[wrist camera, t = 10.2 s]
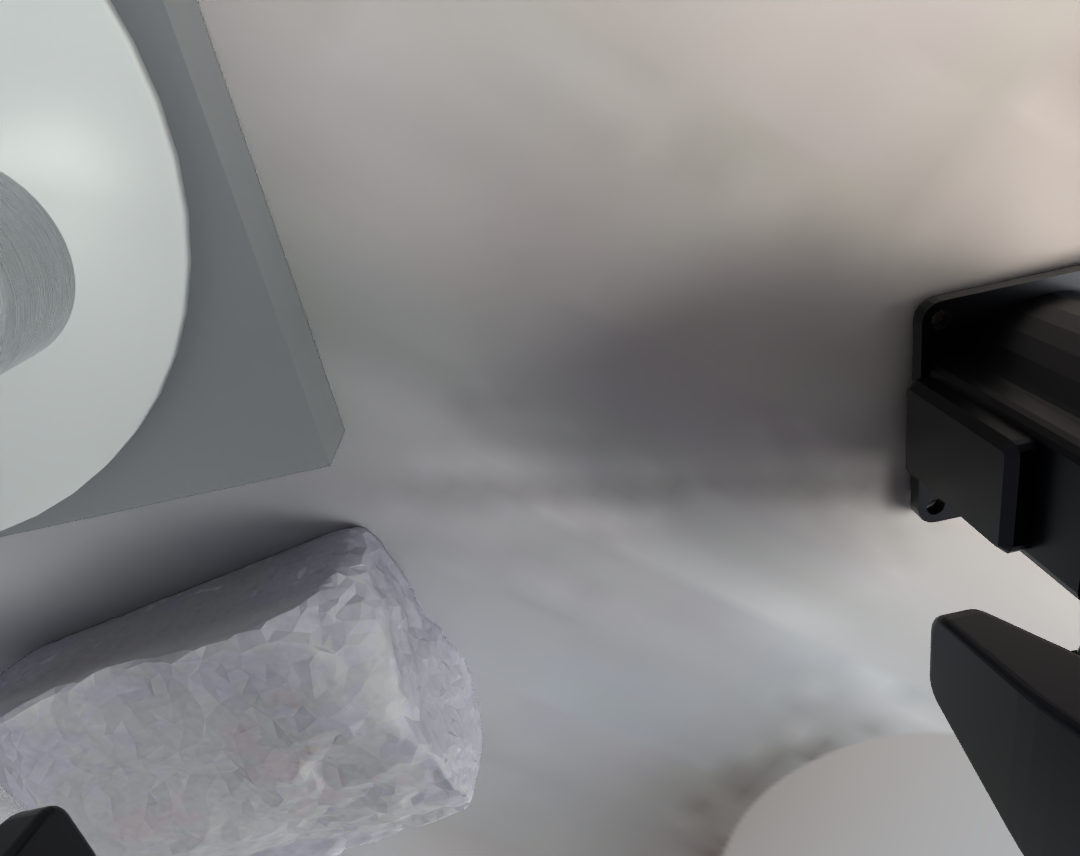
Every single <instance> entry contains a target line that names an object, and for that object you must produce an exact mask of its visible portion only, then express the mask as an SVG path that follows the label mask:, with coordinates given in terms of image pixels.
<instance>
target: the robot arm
mask: <svg viewBox="0 0 1080 856" xmlns="http://www.w3.org/2000/svg"><path fill="white" fill-rule="evenodd" d="M941 310H942V313H943V314H942V317H941V319H940V321H939V322H938V323H936V324H934V325H932V323H931V322H932V318H933V316H934V315H935V314H936V313H937V312H939V311H941ZM906 468H907V470H908V472H910V473H911V507H912V510H913V511H914V512H915V513H916V514H917V515H918V516H919V517H920V518H921V519H922V520H924V521H927V522H937V521H942V520H947V519H951V518H956V517H962V518H963V519H964V520H966V521H967V522H968V523H969V524H970V525H971V526H973V527H974V528H975V529H976V530H977V531H978V532H980V533H981V534H982V535H983V536H984V537H985V538H987V539H988V540H989V541H990V542H991V543H992V544H994V545H995V546H996V547H998V548H999V549H1001V550H1002V551H1004V552H1006V553H1011V552H1016V551H1021V552H1022V553H1023V554H1024V555H1026V556H1027V557H1028V558H1029V559H1031V560H1032V561H1033V562H1034V563H1035V564H1037V565H1038V566H1039V567H1040V568H1041V569H1043V570H1044V571H1045V572H1046V573H1047V574H1049V575H1050V576H1051V577H1052V578H1054V579H1055V580H1056V581H1057V582H1058V583H1060V584H1061V585H1062V586H1063V587H1064V588H1066V589H1067V590H1068V591H1069V592H1070V593H1072V594H1073V595H1074V596H1075V597H1076V598H1078V599H1079V600H1080V265H1077V266H1073V267H1068V268H1063V269H1059V270H1054V271H1050V272H1045V273H1040V274H1036V275H1031V276H1026V277H1022V278H1017V279H1013V280H1008V281H1003V282H999V283H994V284H989V285H985V286H980V287H976V288H971V289H966V290H962V291H957V292H952V293H948V294H943V295H939V296H934V297H931V298H929V299H926V300H925V301H924V302H922V303H921V304H920V305H919V306H918V308H917V310H916V311H915V314H914V318H913V370H912V382H911V384H910V386H909V388H908V389H907V430H906ZM935 499H936V502H935V503H934V504H933V505H932V506H930V507H928V508H927V506H928V504H929V503H930V502H931V501H933V500H935ZM930 681H931V687H932V690H933V693H934V696H935V698H936V700H937V702H938V704H939V706H940V708H941V710H942V712H943V713H944V715H945V717H946V719H947V721H948V722H949V724H950V726H951V728H952V730H953V731H954V733H955V735H956V737H957V739H958V740H959V742H960V743H961V745H962V748H963V749H964V751H965V753H966V755H967V756H968V758H969V760H970V762H971V763H972V765H973V767H974V769H975V771H976V772H977V775H978V776H979V778H980V780H981V782H982V783H983V785H984V787H985V789H986V791H987V792H988V794H989V796H990V798H991V800H992V801H993V803H994V805H995V807H996V809H997V810H998V812H999V814H1000V816H1001V818H1002V819H1003V821H1004V823H1005V825H1006V827H1007V828H1008V830H1009V831H1010V833H1011V835H1012V837H1013V838H1014V840H1015V842H1016V844H1017V845H1018V847H1019V849H1020V850H1021V852H1022V853H1023V855H1024V856H1080V647H1079V649H1078V650H1074V651H1072V652H1071V651H1069V650H1067V649H1065V648H1063V647H1060V646H1058V645H1056V644H1054V643H1052V642H1049V641H1047V640H1045V639H1043V638H1041V637H1038V636H1036V635H1034V634H1032V633H1030V632H1028V631H1025V630H1023V629H1021V628H1019V627H1017V626H1014V625H1012V624H1010V623H1008V622H1006V621H1003V620H1001V619H999V618H997V617H995V616H992V615H990V614H988V613H986V612H983V611H980V610H976V609H969V610H964V611H960V612H955V613H950V614H945V615H941V616H939V617H937V618H936V619H935V620H934V622H933V624H932V629H931V656H930ZM0 856H96V854H95V852H94V851H93V849H92V848H91V846H90V845H89V843H88V842H87V840H86V839H85V837H84V836H83V834H82V833H81V832H80V830H79V829H78V827H77V826H76V824H75V823H74V821H73V820H72V818H71V817H70V816H69V814H68V813H67V812H66V811H65V810H64V809H63V808H61V807H59V806H46V807H42V808H37V809H32V810H28V811H23V812H20V813H17V814H15V815H13V816H11V817H9V818H8V819H7V820H6V821H4V822H3V823H2V824H1V825H0Z"/></svg>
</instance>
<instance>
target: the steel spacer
mask: <svg viewBox="0 0 1080 856" xmlns="http://www.w3.org/2000/svg"><path fill="white" fill-rule="evenodd" d="M74 299H75V274H74V267H73V263H72V259H71V256H70V253H69V250H68V248H67V245H66V243H65V240H64V238H63V236H62V235H61V233H60V231H59V229H58V227H57V226H56V224H55V223H54V221H53V220H52V218H51V217H50V215H49V214H48V213H47V211H46V210H45V209H44V208H43V207H42V206H41V204H40V203H39V202H38V201H37V200H36V199H35V198H34V197H33V196H32V195H31V194H30V193H29V192H28V191H27V190H26V189H25V188H23V187H22V186H21V185H20V184H18V183H17V182H16V181H14V180H13V179H12V178H10V177H9V176H7V175H6V174H4V173H3V172H1V171H0V375H2V374H3V373H5V372H7V371H8V370H10V369H12V368H14V367H15V366H17V365H19V364H20V363H22V362H24V361H26V360H27V359H29V358H31V357H32V356H34V355H36V354H38V353H39V352H41V351H42V350H44V349H45V348H47V347H48V346H49V345H50V344H51V343H52V342H53V341H55V340H56V338H57V337H58V336H59V335H60V333H61V332H62V331H63V329H64V328H65V326H66V324H67V322H68V320H69V318H70V315H71V312H72V309H73V305H74Z"/></svg>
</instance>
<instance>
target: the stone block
mask: <svg viewBox="0 0 1080 856" xmlns="http://www.w3.org/2000/svg"><path fill="white" fill-rule="evenodd" d="M471 679H472V677H471V673H470V671H469V669H468V668H467V664H466V661H465V659H464V657H463V656H461V655H460V654H459V653H458V652H457V650H456V649H455V648H454V647H453V646H452V645H451V644H450V643H449V641H448V640H447V639H446V637H445V636H444V635H443V634H442V629H441V628H440V627H438V626H437V625H436V624H434V623H433V622H432V621H430V620H429V619H428V618H426V617H425V615H424V613H423V611H422V610H421V608H420V606H419V604H418V603H417V601H416V598H415V595H414V591H413V590H412V589H411V588H410V585H409V582H408V580H407V579H406V577H405V576H404V574H403V573H402V571H401V570H400V568H399V567H398V565H397V564H396V563H395V561H394V560H393V559H392V558H391V556H390V555H389V554H388V553H387V551H386V550H385V548H384V546H383V543H382V542H381V541H380V540H379V539H378V538H377V537H376V536H375V535H374V534H373V533H372V532H370V531H369V530H368V529H367V528H363V527H353V528H348V529H342V530H337V531H334V532H332V533H328V534H325V535H323V536H320V537H317V538H315V539H312V540H310V541H308V542H305V543H303V544H300V545H298V546H295V547H292V548H290V549H288V550H285V551H283V552H280V553H277V554H275V555H273V556H270V557H268V558H266V559H263V560H261V561H258V562H256V563H253V564H250V565H248V566H245V567H243V568H240V569H238V570H235V571H232V572H230V573H228V574H225V575H223V576H220V577H218V578H215V579H213V580H210V581H208V582H205V583H202V584H200V585H197V586H195V587H193V588H190V589H188V590H185V591H183V592H180V593H178V594H176V595H173V596H169V597H166V598H164V599H161V600H158V601H156V602H154V603H151V604H149V605H147V606H144V607H142V608H139V609H137V610H135V611H133V612H130V613H128V614H126V615H124V616H121V617H117V618H113V619H110V620H108V621H106V622H103V623H101V624H98V625H96V626H93V627H91V628H88V629H85V630H83V631H80V632H78V633H75V634H72V635H68V636H66V637H64V638H63V639H61V640H59V641H56V642H53V643H50V644H47V645H45V646H42V647H40V648H38V649H36V650H35V651H33V652H31V653H29V654H28V655H27V656H25V657H24V658H22V659H21V660H20V661H18V662H17V663H15V664H14V665H13V666H11V667H10V668H8V669H7V670H6V671H4V672H3V673H2V674H1V676H0V784H1V785H2V787H3V788H4V789H5V790H6V792H7V793H9V794H10V795H11V796H12V797H13V798H14V799H16V800H17V801H18V802H19V803H20V804H21V805H22V806H23V808H24V809H25V810H26V811H28V810H32V809H37V808H42V807H46V806H59V807H61V808H63V809H64V810H65V811H66V812H67V813H68V814H69V816H70V817H71V818H72V820H73V821H74V823H75V824H76V826H77V827H78V829H79V830H80V832H81V833H82V834H83V836H84V837H85V839H86V840H87V842H88V843H89V845H90V846H91V848H92V849H93V851H94V852H95V854H96V856H338V855H339V854H341V853H342V851H343V850H344V849H345V848H350V847H357V846H359V845H362V844H369V843H374V842H376V841H378V840H380V839H383V838H385V837H388V836H390V835H393V834H395V833H398V832H399V831H400V830H402V829H403V828H407V827H419V826H423V825H426V824H429V823H432V822H435V821H437V820H440V819H443V818H445V817H448V816H450V815H452V814H454V813H456V812H458V811H462V810H464V809H465V808H466V807H467V806H470V801H471V799H472V797H473V793H474V788H475V780H476V777H477V774H478V771H479V767H480V765H479V761H480V755H481V751H482V726H481V721H480V719H481V712H480V708H479V702H478V700H477V698H476V696H475V693H474V689H473V686H472V681H471Z"/></svg>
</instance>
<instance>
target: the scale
mask: <svg viewBox="0 0 1080 856" xmlns="http://www.w3.org/2000/svg"><path fill="white" fill-rule="evenodd" d="M0 171H1V172H3V173H4V174H6V175H7V176H9V177H10V178H12V179H13V180H14V181H16V182H17V183H18V184H20V185H21V186H22V187H23V188H25V189H26V190H27V191H28V192H29V193H30V194H31V195H32V196H33V197H34V198H35V199H36V200H37V201H38V202H39V203H40V204H41V206H42V207H43V208H44V209H45V210H46V211H47V213H48V214H49V215H50V217H51V218H52V220H53V221H54V223H55V224H56V226H57V227H58V229H59V231H60V233H61V235H62V236H63V238H64V240H65V243H66V245H67V248H68V250H69V253H70V256H71V259H72V263H73V267H74V274H75V299H74V305H73V309H72V312H71V315H70V318H69V320H68V322H67V324H66V326H65V328H64V329H63V331H62V332H61V333H60V335H59V336H58V337H57V338H56V340H55V341H53V342H52V343H51V344H50V345H49V346H48V347H47V348H45V349H44V350H42V351H41V352H39V353H38V354H36V355H34V356H32V357H31V358H29V359H27V360H26V361H24V362H22V363H20V364H19V365H17V366H15V367H14V368H12V369H10V370H8V371H7V372H5V373H3V374H2V375H0V537H3V536H7V535H12V534H17V533H21V532H26V531H30V530H35V529H40V528H44V527H49V526H54V525H58V524H63V523H67V522H72V521H77V520H81V519H86V518H91V517H95V516H100V515H105V514H109V513H114V512H118V511H123V510H128V509H132V508H137V507H142V506H146V505H151V504H155V503H160V502H165V501H169V500H174V499H179V498H183V497H188V496H193V495H197V494H202V493H206V492H211V491H216V490H220V489H225V488H230V487H234V486H239V485H243V484H248V483H253V482H257V481H262V480H267V479H271V478H276V477H281V476H285V475H290V474H294V473H299V472H304V471H308V470H313V469H318V468H322V467H327V466H331V464H332V461H333V458H334V456H335V453H336V451H337V448H338V446H339V443H340V441H341V438H342V436H343V433H344V431H345V430H344V427H343V424H342V421H341V418H340V415H339V413H338V410H337V407H336V404H335V401H334V398H333V395H332V392H331V389H330V386H329V383H328V381H327V378H326V375H325V372H324V369H323V366H322V363H321V360H320V357H319V354H318V351H317V349H316V346H315V343H314V340H313V337H312V334H311V331H310V328H309V325H308V322H307V319H306V317H305V314H304V311H303V308H302V305H301V302H300V299H299V296H298V293H297V290H296V287H295V284H294V282H293V279H292V276H291V273H290V270H289V267H288V264H287V261H286V258H285V255H284V252H283V250H282V247H281V244H280V241H279V238H278V235H277V232H276V229H275V226H274V223H273V220H272V218H271V215H270V212H269V209H268V206H267V203H266V200H265V197H264V194H263V191H262V188H261V185H260V183H259V180H258V177H257V174H256V171H255V168H254V165H253V162H252V159H251V156H250V153H249V151H248V148H247V145H246V142H245V139H244V136H243V133H242V130H241V127H240V124H239V121H238V119H237V116H236V113H235V110H234V107H233V104H232V101H231V98H230V95H229V92H228V89H227V87H226V84H225V81H224V78H223V75H222V72H221V69H220V66H219V63H218V60H217V57H216V54H215V52H214V49H213V46H212V43H211V40H210V37H209V34H208V31H207V28H206V25H205V22H204V20H203V17H202V14H201V11H200V8H199V5H198V2H197V0H0Z"/></svg>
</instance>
